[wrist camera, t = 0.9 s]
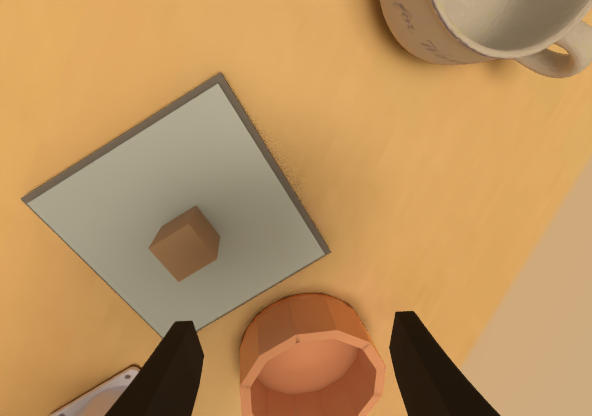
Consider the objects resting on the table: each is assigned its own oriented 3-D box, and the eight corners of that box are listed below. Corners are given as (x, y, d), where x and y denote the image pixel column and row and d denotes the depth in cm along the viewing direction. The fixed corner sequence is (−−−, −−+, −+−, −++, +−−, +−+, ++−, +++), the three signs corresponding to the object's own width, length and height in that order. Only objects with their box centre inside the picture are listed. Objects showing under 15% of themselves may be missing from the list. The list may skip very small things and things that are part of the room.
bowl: (282, 410, 33) (288, 462, 29) (215, 337, 29) (209, 384, 24) (382, 353, 33) (405, 396, 28) (329, 270, 28) (346, 305, 24)
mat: (173, 340, 28) (171, 346, 28) (27, 195, 22) (20, 198, 22) (328, 247, 28) (330, 252, 27) (221, 73, 22) (220, 72, 21)
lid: (172, 340, 27) (161, 380, 24) (32, 200, 22) (-12, 224, 18) (323, 250, 27) (336, 277, 23) (218, 83, 21) (213, 81, 17)
